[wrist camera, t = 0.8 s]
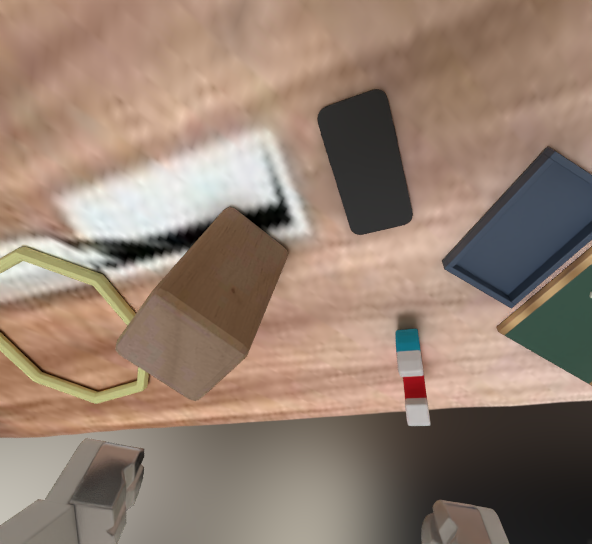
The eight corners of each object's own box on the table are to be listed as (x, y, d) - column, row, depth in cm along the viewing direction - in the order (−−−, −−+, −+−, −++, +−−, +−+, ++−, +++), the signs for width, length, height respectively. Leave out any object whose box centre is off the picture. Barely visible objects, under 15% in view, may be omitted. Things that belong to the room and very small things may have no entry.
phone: (352, 237, 46) (313, 111, 39) (352, 234, 47) (314, 110, 40) (415, 222, 44) (385, 86, 37) (414, 219, 45) (385, 85, 38)
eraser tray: (547, 146, 38) (555, 151, 36) (623, 196, 39) (634, 203, 38) (441, 260, 47) (444, 269, 45) (506, 299, 48) (511, 308, 46)
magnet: (393, 312, 52) (397, 365, 44) (414, 309, 51) (422, 363, 43) (404, 374, 57) (408, 431, 49) (423, 373, 57) (431, 431, 48)
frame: (122, 244, 54) (114, 251, 53) (180, 403, 71) (175, 412, 70) (-63, 245, 61) (-75, 250, 59) (31, 390, 78) (23, 398, 76)
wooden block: (292, 250, 50) (249, 358, 33) (250, 294, 55) (195, 408, 38) (230, 201, 48) (151, 290, 31) (193, 252, 53) (107, 352, 36)
